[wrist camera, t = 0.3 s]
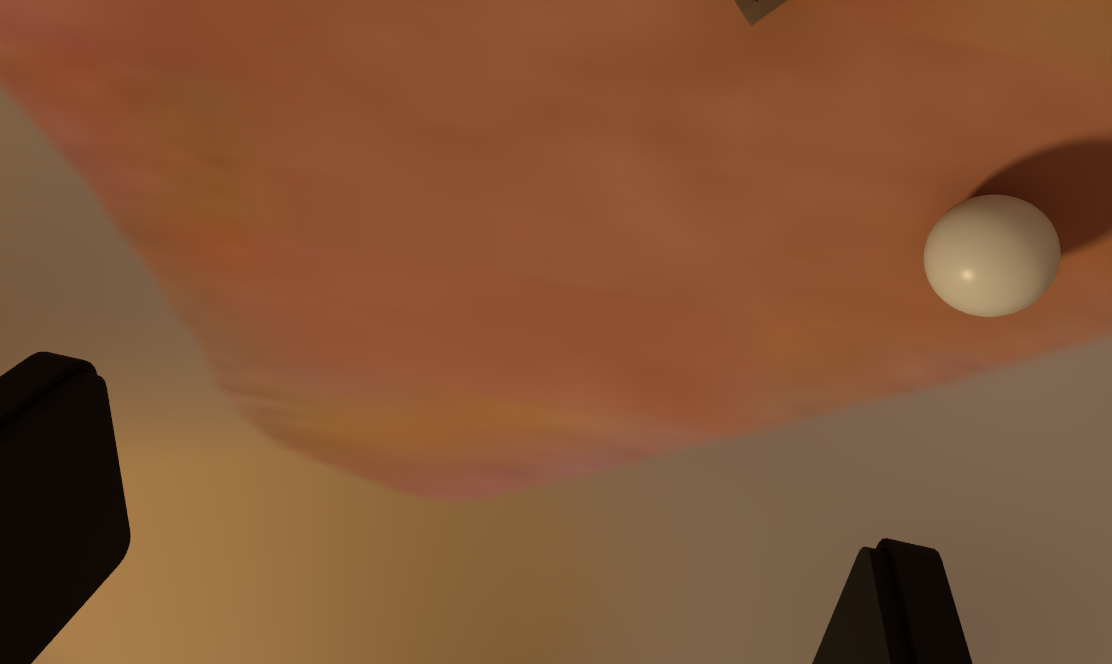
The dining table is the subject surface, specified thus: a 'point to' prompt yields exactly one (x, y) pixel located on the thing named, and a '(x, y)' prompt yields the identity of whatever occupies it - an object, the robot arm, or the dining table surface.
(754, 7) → the tray
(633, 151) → the dining table surface
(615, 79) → the dining table surface
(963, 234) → the cream ball
